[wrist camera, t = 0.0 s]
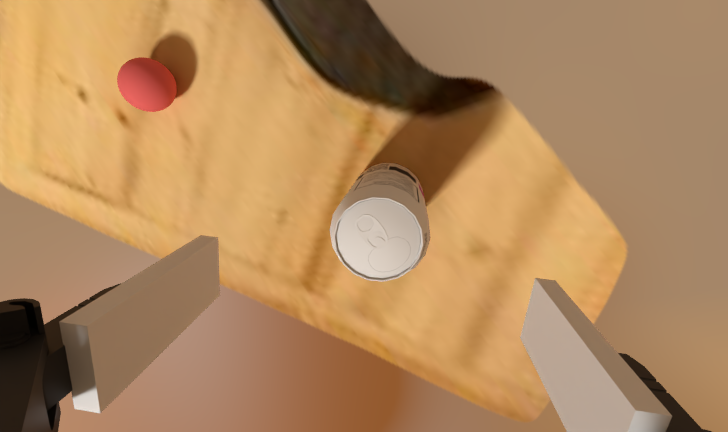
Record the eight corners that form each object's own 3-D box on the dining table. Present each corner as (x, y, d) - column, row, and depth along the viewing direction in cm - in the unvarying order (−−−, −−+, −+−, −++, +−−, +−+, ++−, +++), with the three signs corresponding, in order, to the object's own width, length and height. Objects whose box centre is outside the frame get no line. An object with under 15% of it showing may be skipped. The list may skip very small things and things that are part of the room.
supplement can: (437, 204, 42) (452, 252, 28) (379, 242, 44) (367, 305, 30) (396, 147, 41) (390, 167, 27) (339, 189, 43) (305, 229, 29)
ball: (139, 59, 41) (101, 51, 36) (185, 63, 41) (153, 56, 36) (144, 109, 43) (107, 109, 38) (188, 113, 43) (157, 114, 37)
